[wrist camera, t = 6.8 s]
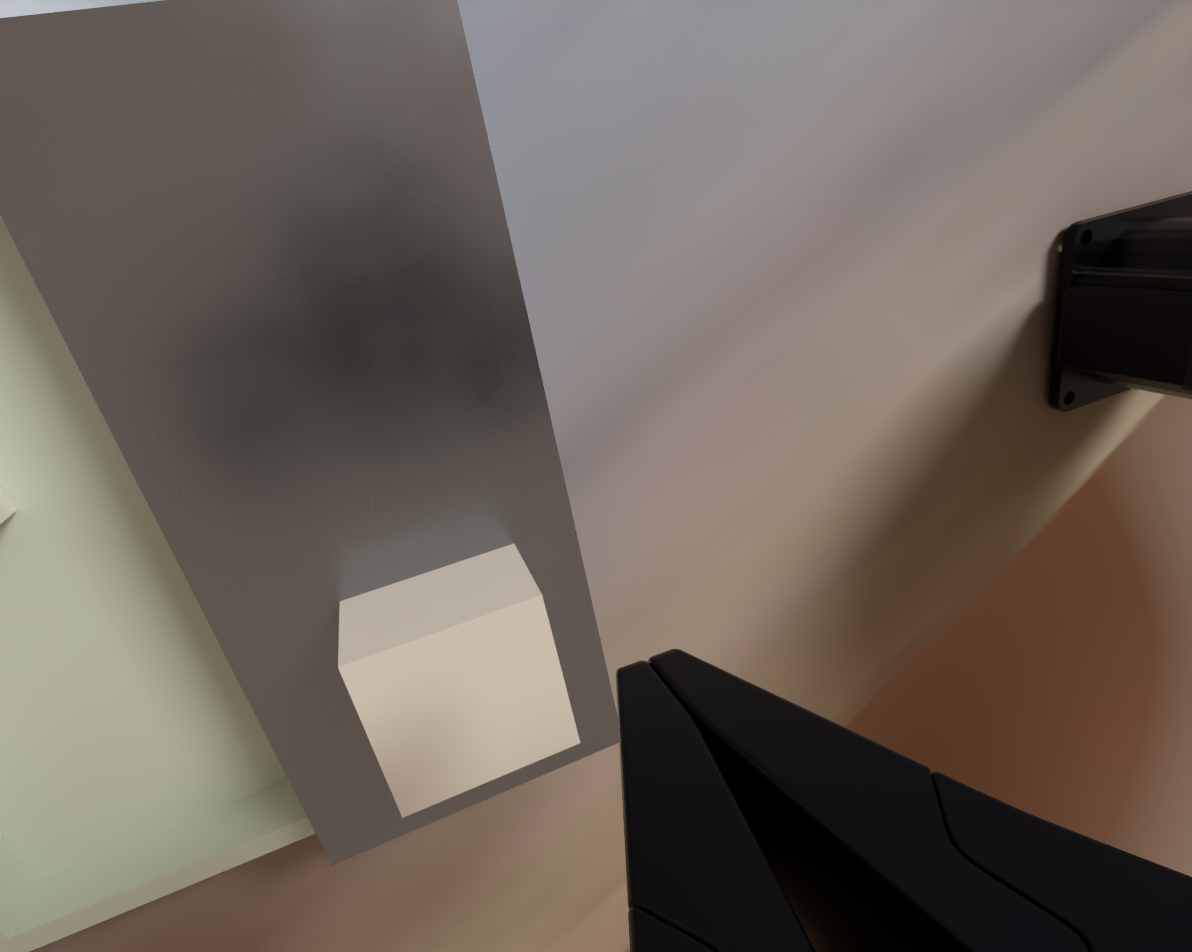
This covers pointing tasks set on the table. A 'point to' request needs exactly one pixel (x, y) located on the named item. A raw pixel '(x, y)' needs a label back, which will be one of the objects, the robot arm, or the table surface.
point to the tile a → (5, 507)
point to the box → (105, 670)
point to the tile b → (455, 677)
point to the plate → (298, 337)
